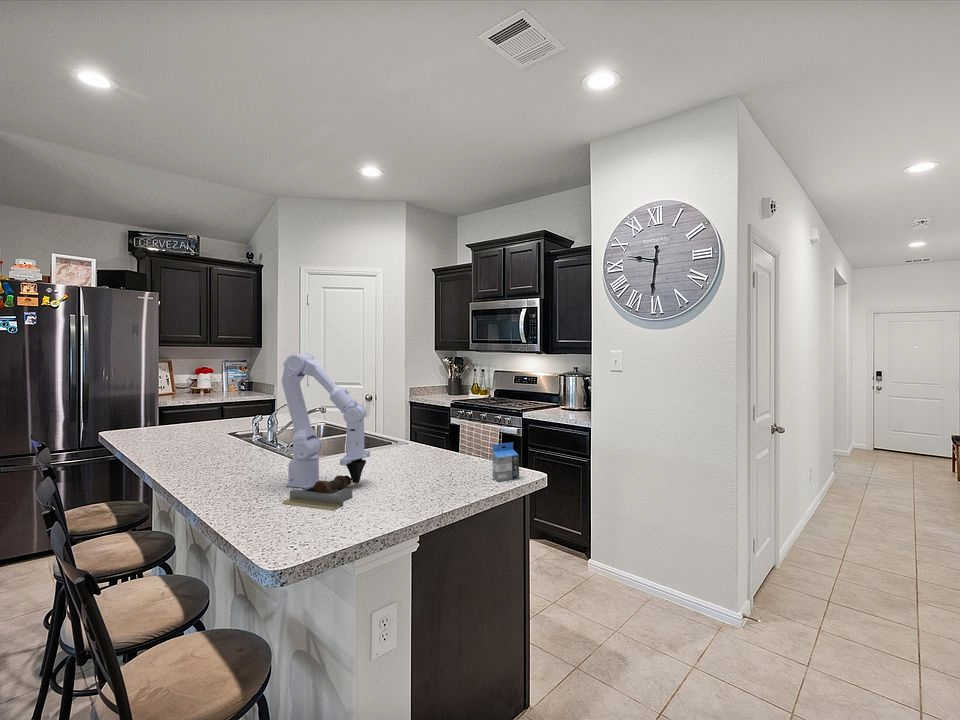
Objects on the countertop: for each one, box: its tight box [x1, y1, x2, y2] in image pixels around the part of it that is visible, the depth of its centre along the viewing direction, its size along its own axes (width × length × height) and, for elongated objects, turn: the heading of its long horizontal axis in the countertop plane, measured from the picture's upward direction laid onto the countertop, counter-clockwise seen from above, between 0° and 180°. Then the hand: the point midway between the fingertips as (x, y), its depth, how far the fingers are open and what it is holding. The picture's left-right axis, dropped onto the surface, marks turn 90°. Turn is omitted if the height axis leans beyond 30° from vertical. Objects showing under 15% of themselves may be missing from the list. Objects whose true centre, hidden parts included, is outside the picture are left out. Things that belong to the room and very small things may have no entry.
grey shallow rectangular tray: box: [281, 485, 353, 511], centre depth 150 cm, size 18×12×3 cm
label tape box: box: [491, 442, 520, 482], centre depth 175 cm, size 9×4×12 cm, turn 120°
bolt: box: [313, 475, 352, 494], centre depth 160 cm, size 6×5×15 cm
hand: (355, 482), depth 167 cm, fingers closed
